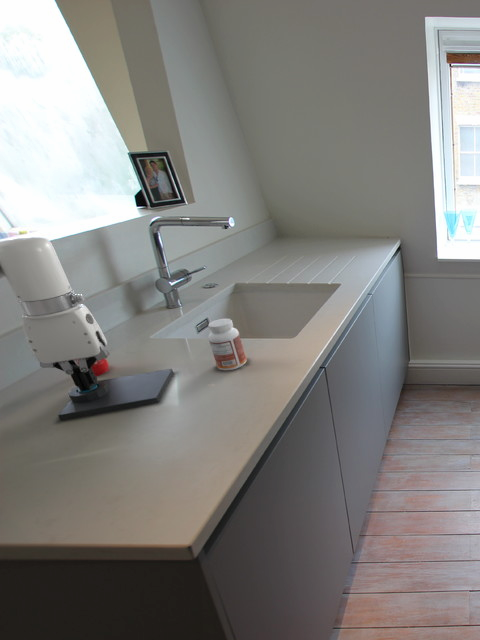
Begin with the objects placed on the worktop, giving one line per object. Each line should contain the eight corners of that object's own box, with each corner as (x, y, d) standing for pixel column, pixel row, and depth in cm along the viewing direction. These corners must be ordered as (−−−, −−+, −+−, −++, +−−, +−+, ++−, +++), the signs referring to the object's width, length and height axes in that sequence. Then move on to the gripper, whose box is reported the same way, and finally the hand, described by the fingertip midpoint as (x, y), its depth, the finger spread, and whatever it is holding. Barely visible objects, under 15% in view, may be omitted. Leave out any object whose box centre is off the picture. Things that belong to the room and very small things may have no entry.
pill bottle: (237, 356, 109) (225, 315, 105) (252, 362, 106) (241, 320, 102) (212, 367, 104) (198, 324, 100) (227, 373, 102) (214, 330, 97)
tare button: (78, 399, 90) (75, 392, 89) (84, 391, 92) (81, 385, 91) (96, 396, 91) (93, 389, 90) (102, 388, 93) (99, 382, 92)
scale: (60, 421, 85) (54, 408, 84) (88, 388, 96) (82, 376, 95) (158, 403, 91) (153, 390, 90) (174, 373, 102) (170, 362, 101)
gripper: (105, 292, 89) (138, 371, 96) (9, 303, 84) (51, 386, 91) (90, 304, 82) (126, 388, 90) (-15, 317, 77) (33, 405, 85)
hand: (88, 387), depth 91 cm, fingers closed
